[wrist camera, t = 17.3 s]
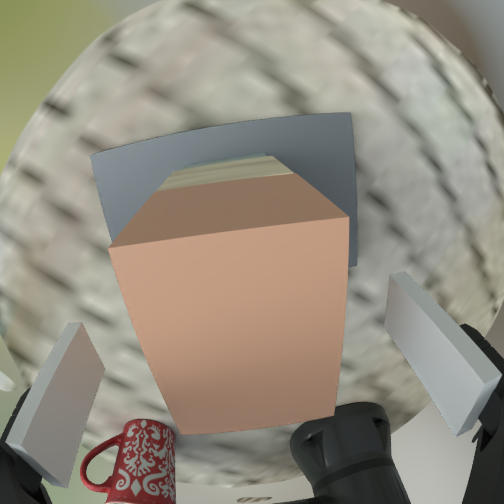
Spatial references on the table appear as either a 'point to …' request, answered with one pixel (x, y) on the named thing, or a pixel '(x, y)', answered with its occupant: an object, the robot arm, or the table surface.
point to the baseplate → (271, 135)
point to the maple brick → (225, 172)
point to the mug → (138, 465)
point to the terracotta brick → (238, 300)
